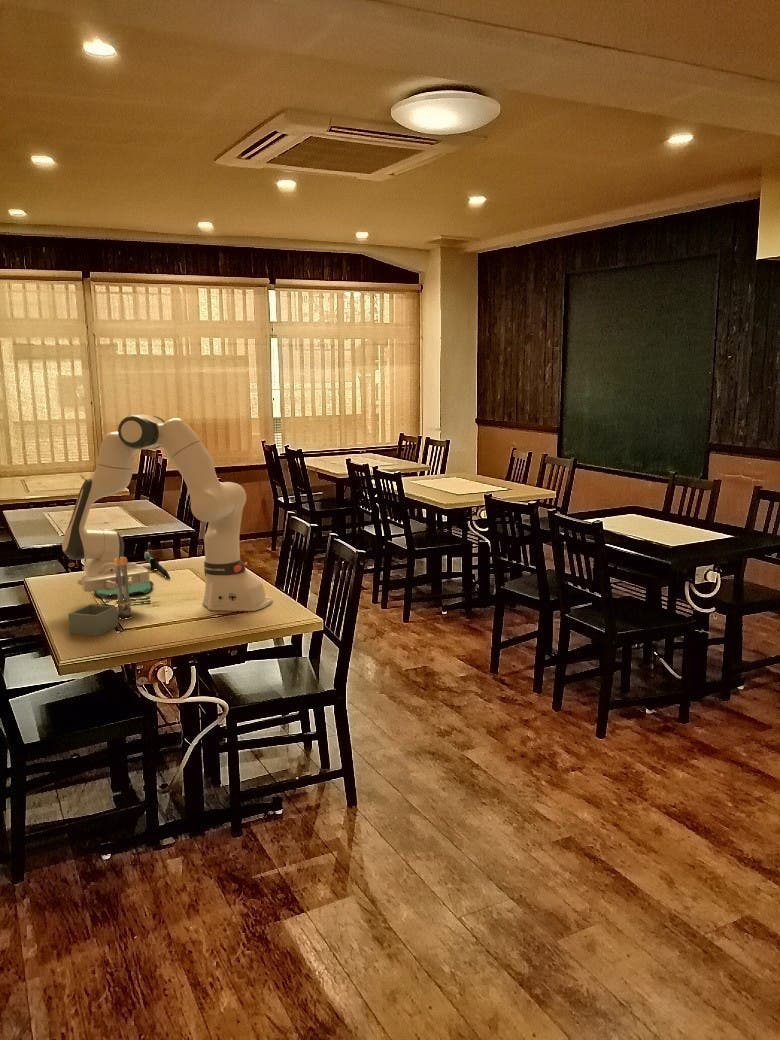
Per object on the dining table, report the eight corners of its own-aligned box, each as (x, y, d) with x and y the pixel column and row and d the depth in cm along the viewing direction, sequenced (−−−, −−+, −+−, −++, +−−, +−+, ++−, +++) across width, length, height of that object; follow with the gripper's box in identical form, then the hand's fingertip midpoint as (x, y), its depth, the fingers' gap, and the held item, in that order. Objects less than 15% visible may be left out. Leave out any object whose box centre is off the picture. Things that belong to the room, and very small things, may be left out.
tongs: (129, 615, 249) (124, 556, 246) (133, 618, 246) (128, 558, 242) (116, 617, 247) (111, 557, 243) (120, 620, 244) (115, 560, 240)
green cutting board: (152, 581, 290) (152, 575, 289) (157, 605, 262) (156, 598, 262) (94, 587, 284) (93, 581, 283) (93, 612, 256) (92, 605, 255)
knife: (143, 561, 315) (143, 550, 314) (151, 560, 317) (150, 549, 315) (163, 586, 290) (162, 575, 288) (171, 585, 291) (171, 573, 290)
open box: (118, 625, 239) (116, 606, 238) (97, 636, 230) (96, 616, 229) (91, 623, 242) (89, 604, 240) (69, 633, 233) (68, 613, 231)
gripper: (74, 571, 248) (87, 580, 237) (139, 561, 260) (154, 569, 249) (76, 590, 249) (89, 600, 238) (141, 580, 261) (156, 589, 250)
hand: (123, 584), depth 244 cm, fingers closed on tongs, 3 cm apart
